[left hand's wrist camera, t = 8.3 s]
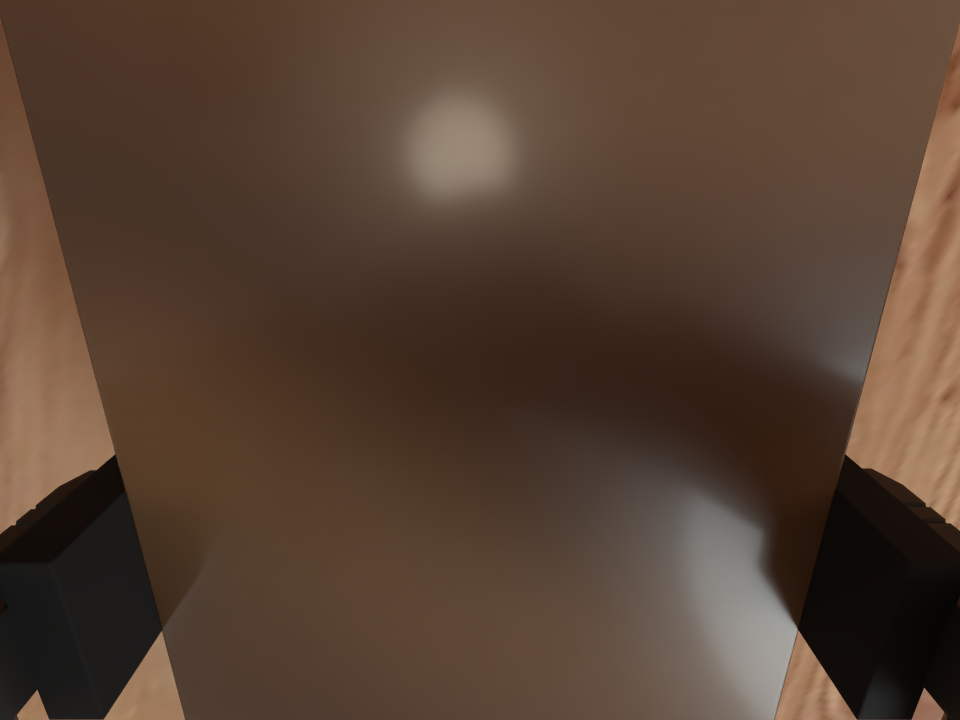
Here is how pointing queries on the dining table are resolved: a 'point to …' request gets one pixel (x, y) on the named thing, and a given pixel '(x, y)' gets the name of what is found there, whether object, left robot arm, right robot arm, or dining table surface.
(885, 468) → the dining table surface
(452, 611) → the cabinet
